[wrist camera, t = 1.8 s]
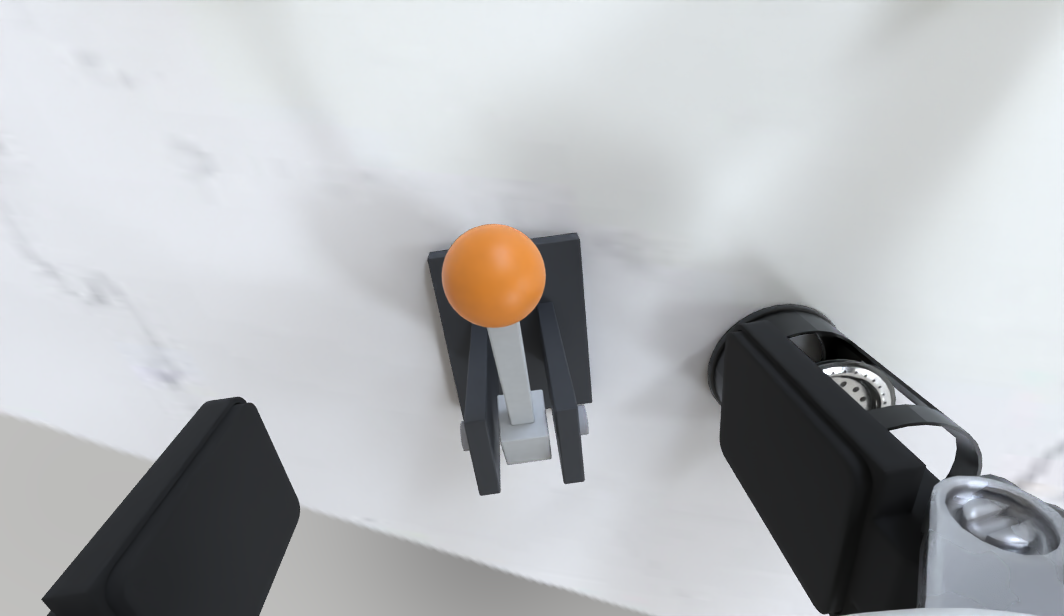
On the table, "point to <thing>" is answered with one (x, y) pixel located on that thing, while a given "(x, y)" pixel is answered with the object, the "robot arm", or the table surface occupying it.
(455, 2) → the table surface
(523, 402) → the switch lever
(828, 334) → the french press
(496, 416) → the switch bracket
